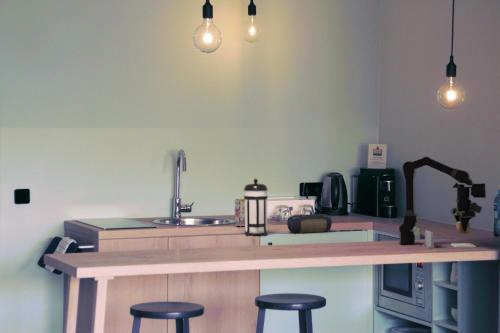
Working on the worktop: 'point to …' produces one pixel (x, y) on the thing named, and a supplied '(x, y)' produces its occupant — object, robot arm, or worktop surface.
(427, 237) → the screen
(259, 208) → the coffee press
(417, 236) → the beverage carton
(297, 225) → the portable speaker
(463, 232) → the letter cube
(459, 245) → the coaster
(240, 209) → the candy bar box
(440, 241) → the worktop surface
